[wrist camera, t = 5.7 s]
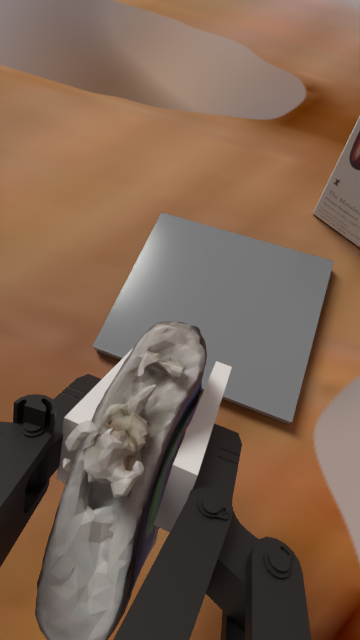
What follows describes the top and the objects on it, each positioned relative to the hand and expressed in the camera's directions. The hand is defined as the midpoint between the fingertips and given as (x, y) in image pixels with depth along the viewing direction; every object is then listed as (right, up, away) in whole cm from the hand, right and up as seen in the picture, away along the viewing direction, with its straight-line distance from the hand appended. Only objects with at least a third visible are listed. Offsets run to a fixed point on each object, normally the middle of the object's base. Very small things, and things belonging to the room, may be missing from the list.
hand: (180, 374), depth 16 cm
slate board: (+4, +4, +16) cm, 17 cm away
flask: (-1, -5, +2) cm, 5 cm away
